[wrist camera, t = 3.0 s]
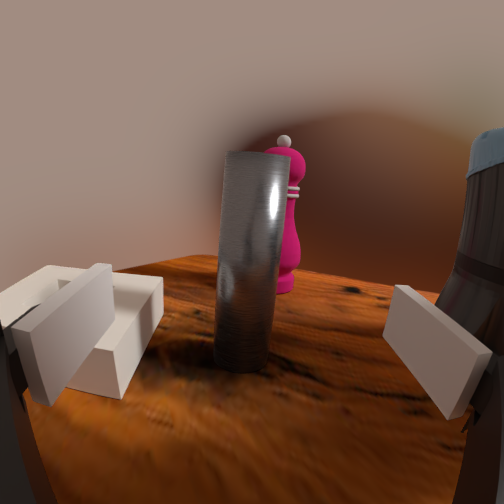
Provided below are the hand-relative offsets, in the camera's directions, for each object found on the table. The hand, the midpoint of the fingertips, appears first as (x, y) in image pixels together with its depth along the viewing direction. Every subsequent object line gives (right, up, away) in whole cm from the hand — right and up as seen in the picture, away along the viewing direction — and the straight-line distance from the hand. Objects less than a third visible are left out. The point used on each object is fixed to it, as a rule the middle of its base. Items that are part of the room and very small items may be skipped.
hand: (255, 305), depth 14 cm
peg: (-1, -6, +12) cm, 13 cm away
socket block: (-16, -5, +11) cm, 20 cm away
